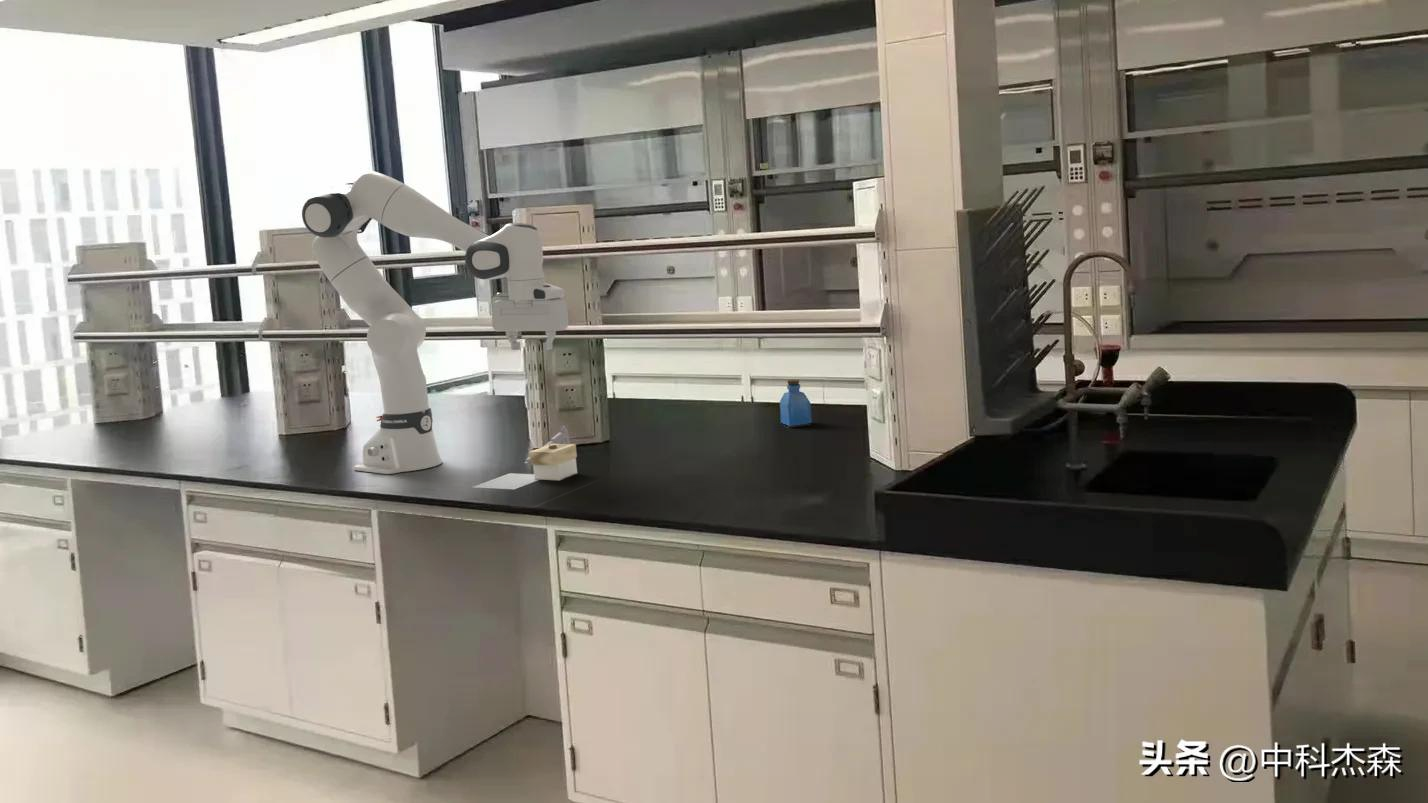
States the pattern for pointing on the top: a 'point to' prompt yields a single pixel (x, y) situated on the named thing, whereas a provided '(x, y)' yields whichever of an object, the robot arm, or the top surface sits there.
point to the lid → (553, 454)
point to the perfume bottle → (794, 405)
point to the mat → (508, 481)
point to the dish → (555, 470)
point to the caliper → (557, 439)
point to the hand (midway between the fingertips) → (531, 349)
